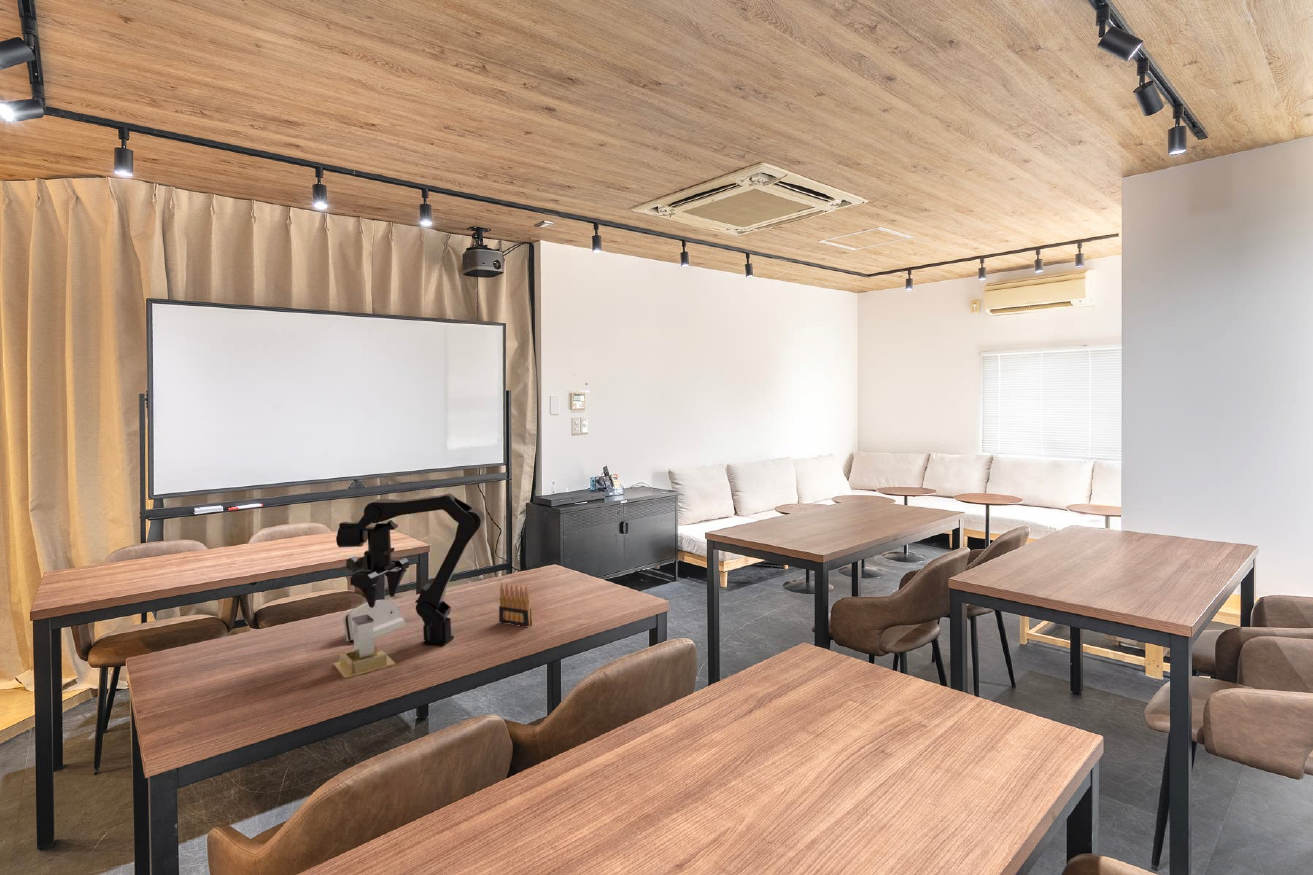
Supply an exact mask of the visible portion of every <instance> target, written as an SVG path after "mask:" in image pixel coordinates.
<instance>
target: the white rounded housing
mask: <svg viewBox="0 0 1313 875" xmlns="http://www.w3.org/2000/svg"><path fill="white" fill-rule="evenodd" d="M396 603H397V602H395V600H393V599H376V602H375V605H374V607H373V608H371V607H369V605H368V602H365V603H363V604H361V605H359V606H357V607H355V608H353V609H352V610H350V611H349V612H348V613H346V615H344V617H343V628H344V633H345V641H346V642H350V641H354V636H353V621H352V618H353V617H357V616H362V615H366V614H368V615H369V616H370V617H371V618H372V619H374V622H373V634H374V639H375V638H377V637H380V636H382V635H386V634H388V633H390V632H392V631H395V630H398V629H400V628H403V627H405V626H407V625H406V621H405V619H404V618H403V617H402V615H401V613H400V611H399V609H398V606H397V604H396Z"/></svg>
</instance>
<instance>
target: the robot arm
mask: <svg viewBox="0 0 1313 875" xmlns="http://www.w3.org/2000/svg"><path fill="white" fill-rule="evenodd" d="M442 510H443V511H444V512H445V513H447V515H448V516H450V518H451V519H452V520H453V521H455V522H456V523H457V526H456V527H457V528H456V532H455V536H454V540H453V542H452V543H451V546H450V548H449V550H448V551H447V554H446V556H444V557H445V558H444V559H443V562H442V563H441V565H440V568H439V570H438V572H437V574H436V576H435V577H434V579H433V581H432V583H431V584H430V583H429V582H427V583H426V584H425V585H424V586H423V587H422V588H421V590H420V593H419V597H418V598H417V599H416V600H415V601H414V603H415V604H416V605H415V611H416V613H417V615H418V616H419V617H420V618H421V620H422V622H423V623H424V624H423V628H422V633H423V634H422V635H423V642H421V645H422V646H436V647H437V646H438V647H444V646H445V645H446V644H448V643H449V642H451V641H452V640H453V639H454V638H455V635H452V621H451V619H452V618H450V617H448V616H449V615H450V613H451V611H452V607H451V606H450V605H449V604H448V603H447V602H446V601H444V600H445V596H446V592H447V587H448V584H449V582H450V580H451V578H452V576H453V575H454V573H455V570H456V568H457V566H458V564H459V562H460V560H461V558H462V557H463V554H464V552H465V551H466V548H467V546H468V544H469V542H470V541H471V540H472V539H473V537H474V536H475V535H476V534H477V532H478V531H479V529H480V528H481V527H482V525H483V524H484V522H485V520H486V519H485V514H484V512H483V511H482V510H481V509H480V508H477V507H472V506H471V505H470V504H468V503H467V502H464V501H462V500H461V499H458V498H457V497H456V496H454V494H452V493H445V494H441V495H434V496H425V497H421V498H420V497H417V498H412V499H410V498H409V499H394V498H393V499H392V498H379V499H376V500H373V501H371V502H369V503H368V504H366V506H365V507H364V509H363V515H362V517H361V518H360V520H359V521H355V522H350V521H342V522H340V523H339V524H338V530H337V531H336V532H337V533H336V534H337V535H336V536H335V541H336V545H337V547H338V548H356V547H357V548H358V547H359V548H360V547H363V546H364V543H365V544H366V543H367V548H368V549H367V550H365V551H364V553H363V556H362V557H361V556H360V557H358V558H357V557H356V556H353V557H349V558H347V559H346V560H345V565H346V567H345V568H346V570H347V571H351V573H352V574H351V576H350V577H349V585H350V586H353V587H354V588H358V589H360V590H361V592H362V594H363V595H364V598H365V600H366V603H368V605H369V607H371V608H373V607H374V605H375V602H376V600H377V597H378V592H379V587H380V582H379V579H380V577H379V576H381V575H385V577H386V579H387V580H386V581H387V586H388V587H387V588H388V594H389V597H390V598H391V597H392V598H393V597H395V594H396V593H397V590H398V589H399V588H398V587H399V586H400V583H401V581H402V579H403V577H404V575H405V573H406V572H407V571H408V570H407V569H409V568H410V561H409V559H408V558H406V557H395V556H394V557H392V553H394V552H395V547H392V543H391V542H392V541H391V531H393V530H396V529H397V528H398V527H399V524H397V523H396V522H394V521H393V520H392V519H393V518H397V517H400V516H403V515H404V516H405V515H410V514H411V515H412V514H413V515H414V514H421V513H427V512H435V511H442ZM384 521H387V522H384ZM371 524H374V526H370V525H371ZM356 571H357V572H356Z"/></svg>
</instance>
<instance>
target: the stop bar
mask: <svg viewBox="0 0 1313 875" xmlns="http://www.w3.org/2000/svg"><path fill="white" fill-rule="evenodd" d="M352 621H353V636H354V640H353V650H354V656H355V661H359V660H363V659H367V658H371V657H375V655H374V645H375V638H374V634H373V622H374V619H372V618H371V617H370V616H369V615H368V614H366V615H362V616H357V617H353V618H352Z"/></svg>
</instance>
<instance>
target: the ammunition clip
mask: <svg viewBox="0 0 1313 875" xmlns="http://www.w3.org/2000/svg"><path fill="white" fill-rule="evenodd" d="M499 591H500V592H499V605H498V623H499V622H501V623H500V624H503V623H511V624H514V625H513V626H515V625H520V626H519V627H522V626H530V627H531V626H532V625H533V622H532V621H533V620H532V609H531V602H530V595H529V594H530V593H529V589H528V586H526V585H525V588H524V587H523V585H520V588H519V587H518V584H517V585H516V584H515V587H514V586H513V584H511V585H510V588H509V584H508V583H506V585H505V586H504V583H501V584H500V590H499Z"/></svg>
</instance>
